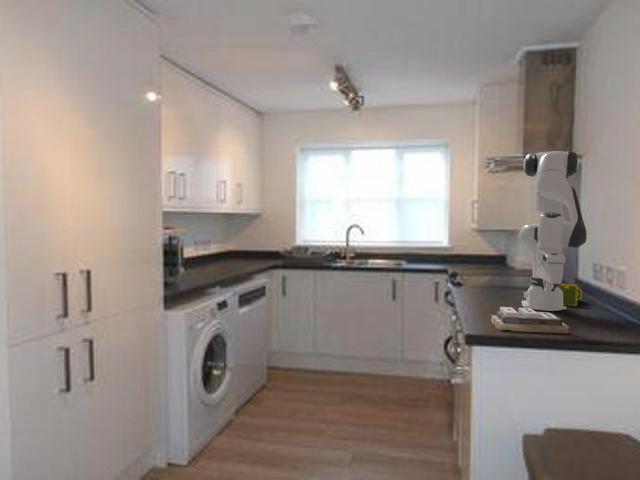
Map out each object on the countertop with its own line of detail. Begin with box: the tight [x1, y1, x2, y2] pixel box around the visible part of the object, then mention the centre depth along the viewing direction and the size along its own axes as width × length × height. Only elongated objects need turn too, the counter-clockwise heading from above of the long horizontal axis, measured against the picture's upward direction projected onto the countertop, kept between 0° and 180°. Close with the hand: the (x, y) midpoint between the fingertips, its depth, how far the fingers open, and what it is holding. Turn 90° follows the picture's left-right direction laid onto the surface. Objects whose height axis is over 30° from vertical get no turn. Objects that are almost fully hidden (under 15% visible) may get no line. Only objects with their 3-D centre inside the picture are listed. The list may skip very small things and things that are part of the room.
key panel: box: [490, 310, 570, 334], centre depth 188 cm, size 16×24×4 cm, turn 81°
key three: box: [536, 311, 559, 319], centre depth 187 cm, size 11×4×2 cm, turn 171°
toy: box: [559, 283, 583, 307], centre depth 249 cm, size 17×10×30 cm
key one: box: [499, 306, 519, 318], centre depth 189 cm, size 11×4×2 cm, turn 171°
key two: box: [517, 307, 538, 319], centre depth 188 cm, size 11×4×2 cm, turn 171°
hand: (547, 292), depth 187 cm, fingers closed
